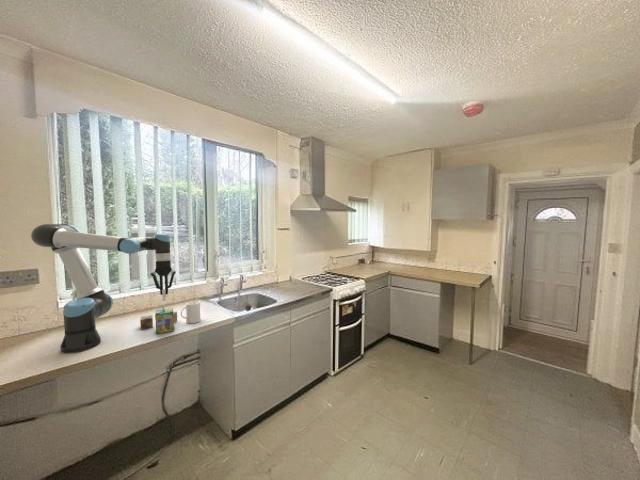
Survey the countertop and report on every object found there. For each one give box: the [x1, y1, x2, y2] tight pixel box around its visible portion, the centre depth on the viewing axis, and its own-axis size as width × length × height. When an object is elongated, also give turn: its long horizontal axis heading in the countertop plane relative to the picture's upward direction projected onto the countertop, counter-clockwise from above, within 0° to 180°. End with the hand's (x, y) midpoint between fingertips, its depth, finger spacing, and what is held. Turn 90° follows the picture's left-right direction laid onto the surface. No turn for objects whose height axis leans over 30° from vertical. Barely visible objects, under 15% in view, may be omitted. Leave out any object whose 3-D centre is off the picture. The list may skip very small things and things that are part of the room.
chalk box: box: [154, 304, 175, 335], centre depth 153 cm, size 9×9×15 cm
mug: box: [180, 300, 201, 324], centre depth 167 cm, size 12×8×12 cm
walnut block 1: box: [139, 314, 154, 330], centre depth 158 cm, size 6×6×6 cm
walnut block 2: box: [173, 311, 178, 324], centre depth 165 cm, size 6×6×6 cm
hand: (164, 299), depth 153 cm, fingers closed
